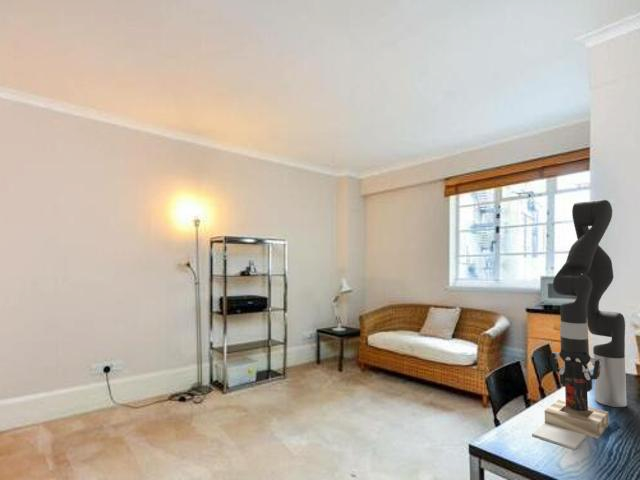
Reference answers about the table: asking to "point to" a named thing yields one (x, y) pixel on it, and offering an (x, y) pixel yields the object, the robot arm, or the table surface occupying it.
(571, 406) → the deodorant
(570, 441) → the mat
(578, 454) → the table surface
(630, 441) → the table surface
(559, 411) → the holder
